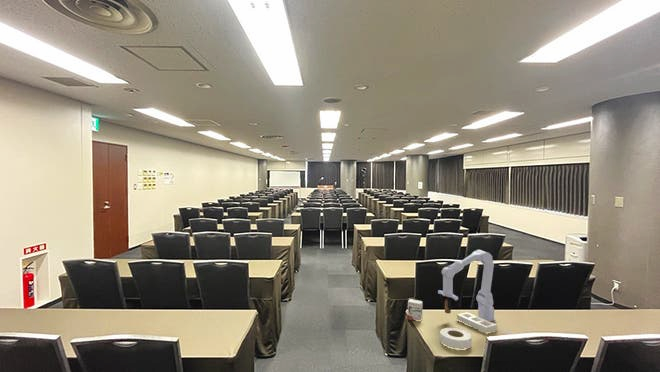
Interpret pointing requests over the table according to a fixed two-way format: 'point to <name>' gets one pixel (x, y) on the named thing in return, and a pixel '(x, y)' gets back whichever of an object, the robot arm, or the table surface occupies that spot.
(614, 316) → the table surface
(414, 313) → the ink box
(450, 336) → the roll of tape
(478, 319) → the well block
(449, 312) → the walnut peg
